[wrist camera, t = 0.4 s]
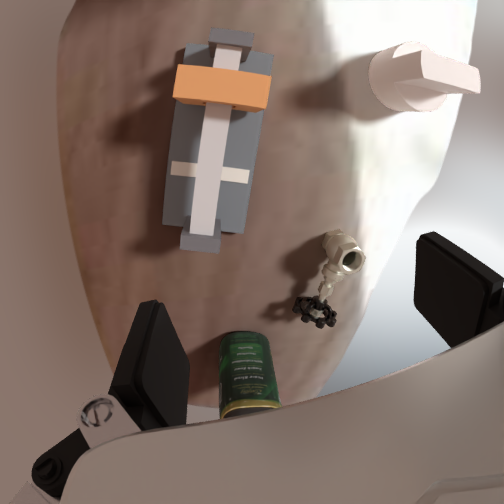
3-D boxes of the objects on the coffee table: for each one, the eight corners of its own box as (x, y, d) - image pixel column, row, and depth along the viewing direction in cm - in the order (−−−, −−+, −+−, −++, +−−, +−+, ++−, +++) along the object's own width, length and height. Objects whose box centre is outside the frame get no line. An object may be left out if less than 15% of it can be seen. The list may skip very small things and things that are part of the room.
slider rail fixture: (187, 46, 30) (179, 25, 22) (271, 57, 31) (286, 39, 24) (164, 220, 38) (150, 245, 30) (242, 229, 40) (248, 256, 32)
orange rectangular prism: (187, 78, 29) (178, 64, 22) (260, 87, 31) (271, 76, 23) (183, 103, 31) (172, 96, 23) (255, 112, 32) (266, 108, 24)
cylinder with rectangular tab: (420, 56, 32) (476, 45, 21) (423, 115, 35) (481, 119, 24) (365, 44, 31) (416, 23, 20) (369, 108, 35) (423, 106, 24)
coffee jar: (218, 328, 45) (221, 431, 28) (271, 328, 46) (296, 427, 29) (217, 373, 49) (220, 469, 32) (264, 373, 50) (282, 466, 33)
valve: (318, 220, 40) (287, 298, 44) (335, 238, 34) (297, 324, 38) (359, 234, 42) (327, 306, 46) (380, 252, 36) (341, 332, 40)
